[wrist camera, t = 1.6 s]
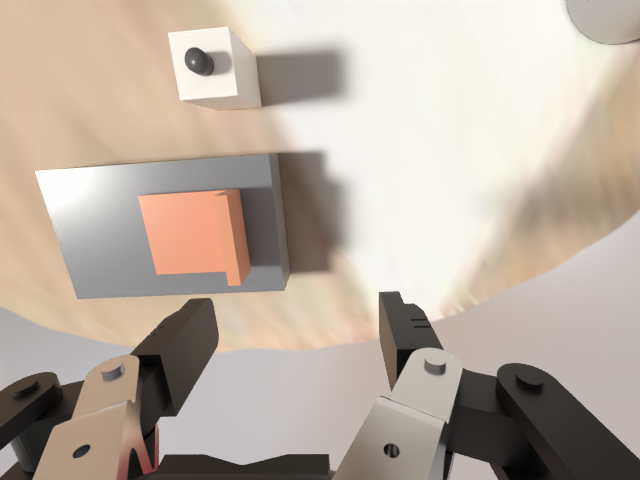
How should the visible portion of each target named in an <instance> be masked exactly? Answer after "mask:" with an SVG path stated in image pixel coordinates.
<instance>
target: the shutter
mask: <svg viewBox="0 0 640 480" xmlns="http://www.w3.org/2000/svg"><path fill="white" fill-rule="evenodd" d="M138 199H139V203H140V207H141V211H142V216H143V220H144V224H145V228H146V232H147V236H148V240H149V244H150V249H151V253H152V257H153V261H154V265H155V269H156V273H157V275H159V274H181V273H203V272H224V271H226V276H227V282H228V286H238V285H241V284H242V283H243V281H244V280H245V278H246V277H247V276H248V274H249V273H250V271H251V267H250V260H249V253H248V246H247V239H246V232H245V225H244V218H243V212H242V205H241V198H240V191H239V189H223V190H207V191H192V192H176V193H161V194H145V195H139V196H138Z"/></svg>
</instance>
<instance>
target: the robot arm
mask: <svg viewBox="0 0 640 480" xmlns="http://www.w3.org/2000/svg"><path fill="white" fill-rule="evenodd" d="M566 6H567V11H568V13H569V16H570V18H571V21H572V22H573V24H574V25H575V26H576V28H577V29H578V30H579V32H581V33H582V34H583V35H585V36H586V37H587V38H588V39H591V40H593V41H596V42H598V43H604V44H611V45H612V44H622V43H627V42H630V41H633V40H636V39H639V38H640V0H566ZM379 333H380V342H381V348H382V352H383V357H384V361H385V366H386V370H387V375H388V379H389V384H390V388H391V394H390V396H389V398H386V397H384V396H380V397H378V399H377V400H376V402H375V403H374V405H373V407H372V409H371V411H370V412H369V414H368V416H367V417H366V419H365V421H364V423H363V425H362V426H361V428H360V430H359V432H358V434H357V435H356V437H355V439H354V441H353V443H352V444H351V446H350V448H349V450H348V452H347V453H346V455H345V457H344V459H343V461H342V462H341V464H340V466H339V468H338V469H337V471H332V470H330V464H329V454H287V455H283V456H279V457H275V458H271V459H267V460H264V461H259V462H255V463H251V464H247V465H238V464H235V463H231V462H228V461H224V460H221V459H218V458H214V457H211V456H208V455H165V456H164V457H163V459H162V461H161V463H160V465H159V428H158V425H157V421H158V420H159V418H160V417H166V416H167V417H168V416H177V414H178V412H179V411H180V409H181V407H182V405H183V404H184V402H185V400H186V399H187V397H188V395H189V394H190V392H191V390H192V389H193V387H194V385H195V383H196V382H197V380H198V378H199V377H200V375H201V373H202V371H203V370H204V368H205V367H206V365H207V363H208V361H209V360H210V358H211V356H212V355H213V353H214V351H215V350H216V348H217V345H218V339H219V333H218V327H217V322H216V316H215V311H214V306H213V302H212V300H211V299H210V298H196V299H190V300H188V301H187V303H186V304H185V305H184V306H183V307H182V308H181V309H180V310H179V311H177V312H175V313H173V314H172V315H170V316H168V317H167V318H165V319H164V320H163V321H162V322H161V323H160V324H159V325H158V326H157V328H155V329H154V330H153V331H152V332H151V333H150V335H148V336H147V337H146V338H145V339H144V340H143V341H142V342H141V343H140V344H139V345H138V346H137V347H136V348H135V349H134V351H133V352H132V353H131V354H130V355H124V356H119V357H115V358H112V359H109V360H107V361H105V362H103V363H101V364H99V365H98V366H96V367H95V368H94V369H93V370H91V371H90V372H89V373H88V375H87V376H86V378H85V380H83V381H79V382H75V383H70V384H66V385H62V386H60V383H59V380H58V378H57V375H56V374H55V373H52V372H43V373H38V374H34V375H31V376H28V377H25V378H23V379H21V380H18V381H16V382H14V383H13V384H11V385H9V386H8V387H6V388H5V389H3V390H2V391H0V450H1V449H2V448H4V447H5V446H6V445H7V444H8V443H9V442H10V443H11V445H12V448H13V450H14V452H15V454H16V456H17V458H18V460H19V461H18V462H17V463H16V464H14V465H13V466H12V467H11V468H10V469H9V470H8V471H7V472H6V473H5V474H4V475H3V476H1V477H0V480H449V479H450V474H451V470H452V465H453V461H454V456H455V453H458V454H461V455H465V456H468V457H471V458H475V459H478V460H481V461H485V462H488V463H490V466H491V467H492V469H493V471H494V473H495V474H496V476H497V478H498V480H640V459H639V458H637V457H636V455H634V454H633V453H632V452H631V451H630V450H629V449H628V448H627V447H626V446H625V445H624V444H623V443H622V442H621V441H620V440H619V439H618V438H616V436H615V435H613V433H611V432H610V431H609V430H608V429H607V428H606V427H605V426H604V425H603V424H602V423H601V422H600V421H599V420H598V419H597V418H596V417H595V416H594V415H593V414H592V413H591V412H590V411H588V410H587V409H586V408H585V407H584V406H583V405H582V404H581V403H580V402H579V401H578V400H577V399H576V398H575V397H574V396H573V395H572V394H571V393H570V392H569V391H567V390H566V389H565V388H564V387H563V386H562V385H561V384H560V383H559V382H558V381H557V380H556V379H555V378H554V377H552V376H551V375H550V374H548V373H546V372H545V371H543V370H541V369H538V368H536V367H533V366H530V365H526V364H519V363H511V364H505V365H503V366H501V367H500V368H499V369H498V371H497V377H495V376H490V375H485V374H480V373H476V372H472V371H469V370H466V369H464V368H462V364H461V362H460V361H459V360H458V359H457V358H456V357H455V356H454V355H452V354H451V353H449V352H447V351H444V349H443V348H442V346H441V344H440V342H439V340H438V338H437V336H436V334H435V332H434V330H433V328H431V324H430V322H429V320H428V319H427V317H426V315H425V313H424V311H423V310H422V309H421V308H419V307H418V306H417V305H415V304H404V302H403V300H402V298H401V295H400V293H399V291H394V292H379Z"/></svg>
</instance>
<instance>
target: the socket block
mask: <svg viewBox="0 0 640 480" xmlns="http://www.w3.org/2000/svg"><path fill="white" fill-rule="evenodd" d="M35 173H36V176H37V179H38V182H39V185H40V188H41V191H42V194H43V197H44V200H45V203H46V206H47V209H48V212H49V215H50V218H51V221H52V224H53V227H54V230H55V233H56V236H57V239H58V242H59V245H60V248H61V251H62V254H63V257H64V260H65V263H66V266H67V269H68V272H69V275H70V278H71V281H72V284H73V287H74V290H75V293H76V296H77V299H90V298H115V297H139V296H164V295H188V294H213V293H238V292H262V291H284V290H285V287H286V284H287V281H288V279H289V276H290V264H289V255H288V245H287V236H286V226H285V217H284V207H283V198H282V188H281V179H280V170H279V160H278V153H270V154H256V155H242V156H229V157H215V158H201V159H187V160H173V161H159V162H145V163H131V164H117V165H103V166H89V167H76V168H64V169H53V170H42V171H35ZM223 189H239V191H240V198H241V205H242V212H243V218H244V225H245V232H246V239H247V246H248V253H249V260H250V267H251V271H250V273H249V274H248V276H247V277H246V278H245V280H244V281H243V283H242V284H241V285H238V286H228V282H227V276H226V271H224V272H203V273H181V274H159V275H157V273H156V269H155V265H154V261H153V257H152V253H151V249H150V244H149V240H148V236H147V232H146V228H145V224H144V220H143V216H142V211H141V207H140V203H139V199H138V196H139V195H145V194H161V193H176V192H192V191H207V190H223Z"/></svg>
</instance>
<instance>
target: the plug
mask: <svg viewBox="0 0 640 480" xmlns="http://www.w3.org/2000/svg"><path fill="white" fill-rule="evenodd" d="M168 36H169V42H170V47H171V53H172V58H173V63H174V69H175V74H176V80H177V85H178V90H179V96H180V100H181V101H185V102H188V103H192V104H196V105H199V106H203V107H206V108H210V109H214V110H217V111H220V110H232V109H244V108H256V107H262V104H261V96H260V87H259V79H258V70H257V61H256V56H255V55H254V54H253V53H252V51H251V50H250V49H249V48H248V47H247V46H246V45H245V44H244V43H243V42H242V41H241V40H240V39H239V37H238V36H237V35H236V34H235V33H234V32H233V31H232V30H231V29H230V28H229V27H220V28H210V29H200V30H190V31H181V32H171V33H168Z"/></svg>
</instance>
